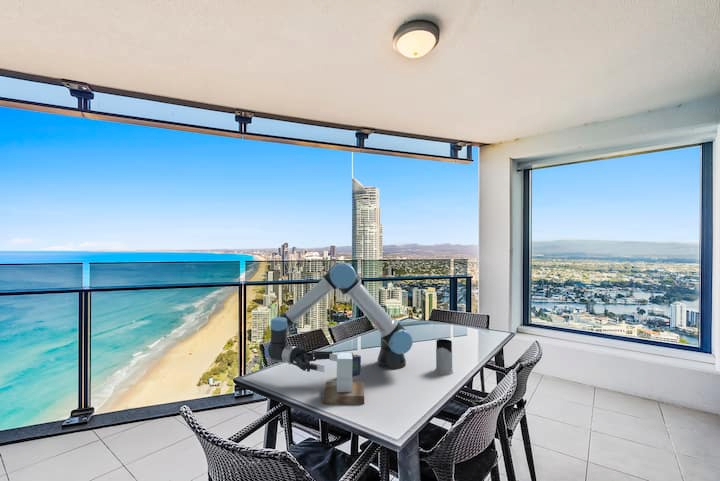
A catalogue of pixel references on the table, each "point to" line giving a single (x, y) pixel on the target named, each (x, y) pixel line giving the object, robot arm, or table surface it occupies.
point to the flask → (356, 365)
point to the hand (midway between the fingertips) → (333, 363)
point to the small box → (344, 372)
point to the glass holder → (444, 357)
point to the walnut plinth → (343, 394)
